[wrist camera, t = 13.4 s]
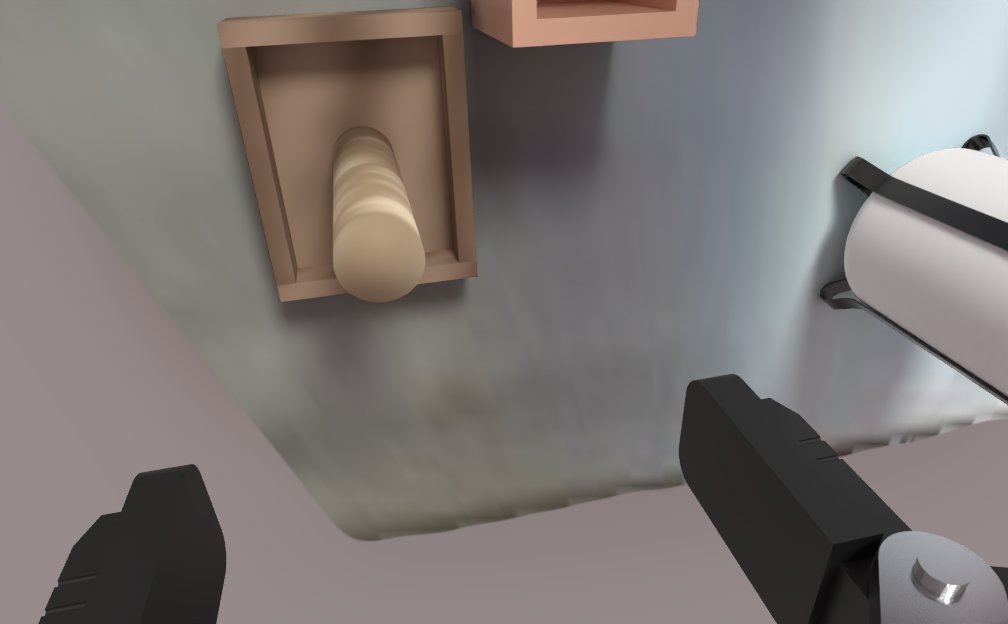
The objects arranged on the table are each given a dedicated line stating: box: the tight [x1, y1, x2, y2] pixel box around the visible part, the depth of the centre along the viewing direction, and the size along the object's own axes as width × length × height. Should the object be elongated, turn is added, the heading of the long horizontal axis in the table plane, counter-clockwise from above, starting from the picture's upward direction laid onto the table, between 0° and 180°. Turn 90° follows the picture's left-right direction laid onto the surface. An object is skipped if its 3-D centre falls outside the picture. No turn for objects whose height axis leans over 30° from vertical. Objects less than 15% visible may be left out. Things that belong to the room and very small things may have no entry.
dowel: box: [333, 126, 425, 303], centre depth 29 cm, size 3×3×14 cm
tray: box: [217, 7, 477, 302], centre depth 34 cm, size 11×14×3 cm
